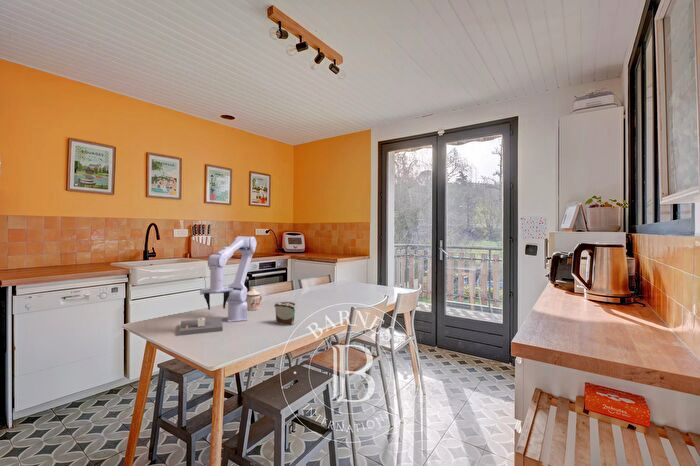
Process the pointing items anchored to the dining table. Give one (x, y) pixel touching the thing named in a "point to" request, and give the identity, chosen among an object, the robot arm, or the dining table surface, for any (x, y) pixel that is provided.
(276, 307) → the food container
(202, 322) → the fader knob
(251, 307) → the teacup with lid
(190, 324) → the console
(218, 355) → the dining table surface
